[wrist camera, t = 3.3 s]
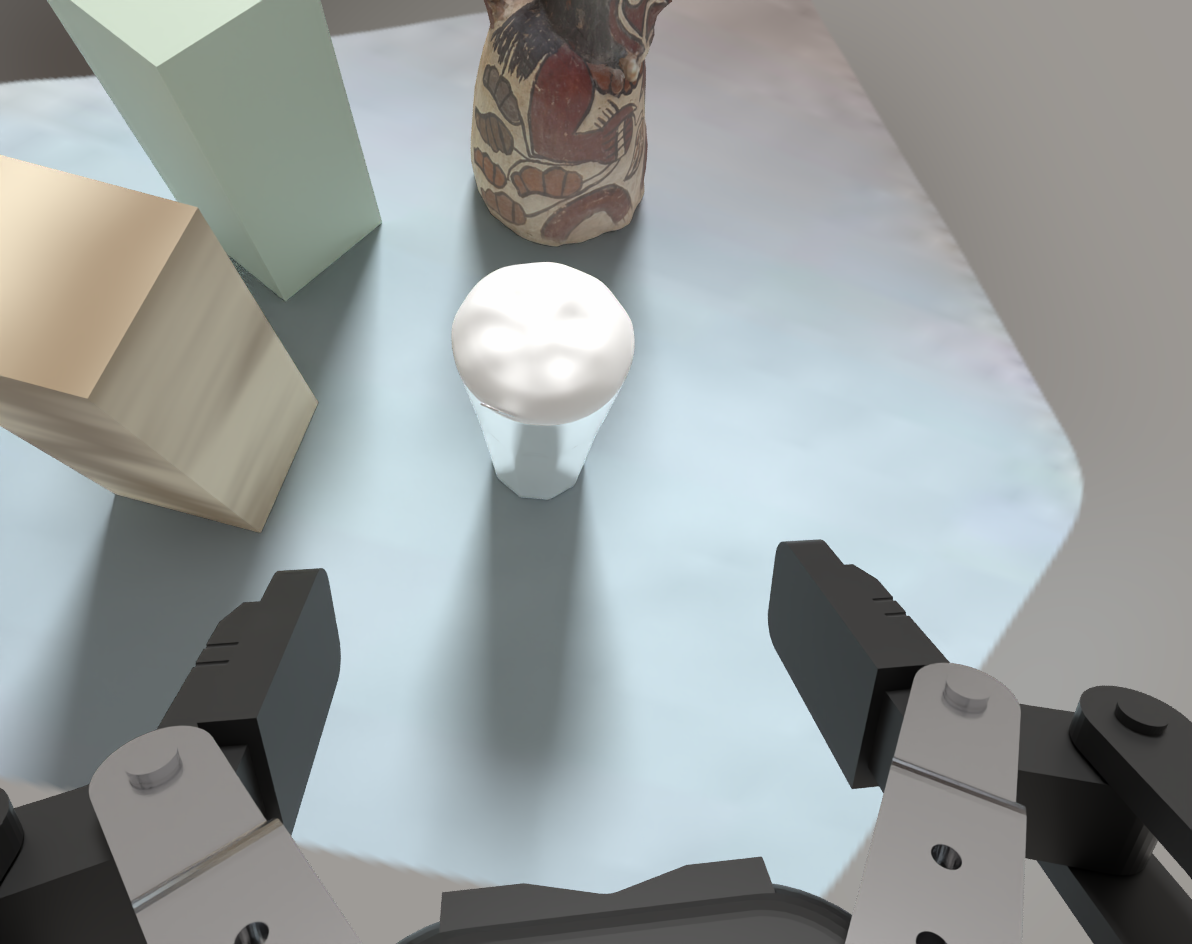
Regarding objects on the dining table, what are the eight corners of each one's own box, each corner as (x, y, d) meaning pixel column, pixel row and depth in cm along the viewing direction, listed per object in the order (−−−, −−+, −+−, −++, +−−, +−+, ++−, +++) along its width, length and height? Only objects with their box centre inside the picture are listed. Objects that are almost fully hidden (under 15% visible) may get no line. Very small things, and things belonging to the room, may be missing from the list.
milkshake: (441, 509, 24) (389, 367, 15) (506, 382, 26) (495, 187, 17) (564, 560, 24) (587, 448, 15) (620, 428, 26) (672, 255, 17)
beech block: (114, 494, 24) (-153, 334, 14) (183, 366, 25) (-17, 150, 16) (260, 533, 24) (87, 398, 14) (318, 402, 25) (197, 207, 16)
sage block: (193, 226, 27) (23, -37, 18) (292, 154, 29) (183, -122, 20) (285, 301, 27) (156, 66, 17) (382, 222, 28) (311, -32, 19)
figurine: (609, 272, 28) (662, -30, 17) (444, 211, 29) (393, -124, 18) (664, 147, 31) (743, -187, 20) (513, 92, 31) (506, -267, 20)
